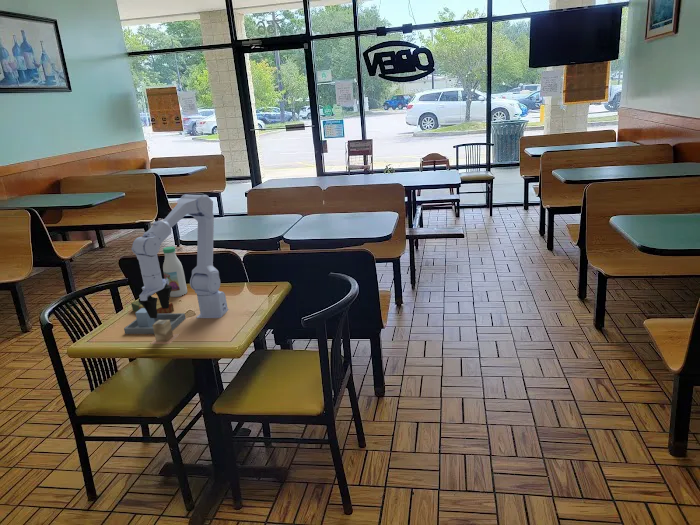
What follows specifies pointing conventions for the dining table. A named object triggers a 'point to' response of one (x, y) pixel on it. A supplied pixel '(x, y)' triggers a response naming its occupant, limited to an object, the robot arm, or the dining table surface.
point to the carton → (138, 306)
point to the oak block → (162, 330)
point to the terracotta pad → (167, 341)
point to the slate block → (144, 319)
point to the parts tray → (173, 317)
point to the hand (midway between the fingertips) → (159, 312)
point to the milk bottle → (174, 273)
